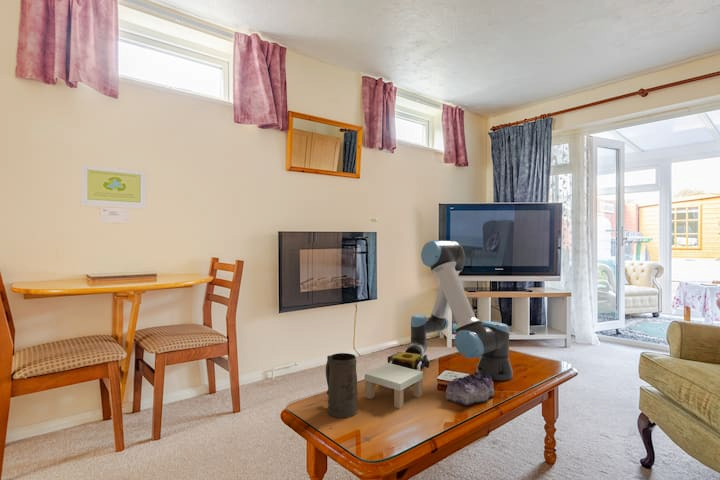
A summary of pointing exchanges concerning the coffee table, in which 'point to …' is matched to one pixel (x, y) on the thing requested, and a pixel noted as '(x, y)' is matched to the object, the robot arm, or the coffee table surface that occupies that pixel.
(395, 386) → the footstool
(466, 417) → the coffee table surface
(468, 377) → the geode
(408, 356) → the candle
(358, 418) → the coffee table surface
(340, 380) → the beer stein
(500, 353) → the robot arm
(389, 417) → the coffee table surface
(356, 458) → the coffee table surface
